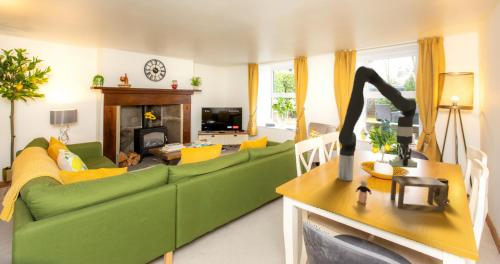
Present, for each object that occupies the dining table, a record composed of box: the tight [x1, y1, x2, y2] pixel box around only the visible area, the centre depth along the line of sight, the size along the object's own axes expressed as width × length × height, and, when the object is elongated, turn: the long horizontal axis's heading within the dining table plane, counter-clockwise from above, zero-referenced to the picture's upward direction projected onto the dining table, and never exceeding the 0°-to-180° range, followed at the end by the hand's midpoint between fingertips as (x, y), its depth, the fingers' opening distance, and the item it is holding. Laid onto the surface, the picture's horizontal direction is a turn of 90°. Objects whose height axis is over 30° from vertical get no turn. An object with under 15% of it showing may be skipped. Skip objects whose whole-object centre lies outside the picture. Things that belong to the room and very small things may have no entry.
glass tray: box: [388, 155, 418, 169], centre depth 138 cm, size 12×6×5 cm, turn 78°
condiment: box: [433, 177, 451, 205], centre depth 132 cm, size 7×8×12 cm
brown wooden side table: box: [389, 175, 447, 213], centre depth 127 cm, size 20×12×14 cm, turn 79°
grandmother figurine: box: [355, 179, 372, 205], centre depth 130 cm, size 8×4×13 cm, turn 66°
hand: (402, 164), depth 138 cm, fingers closed on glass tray, 6 cm apart
